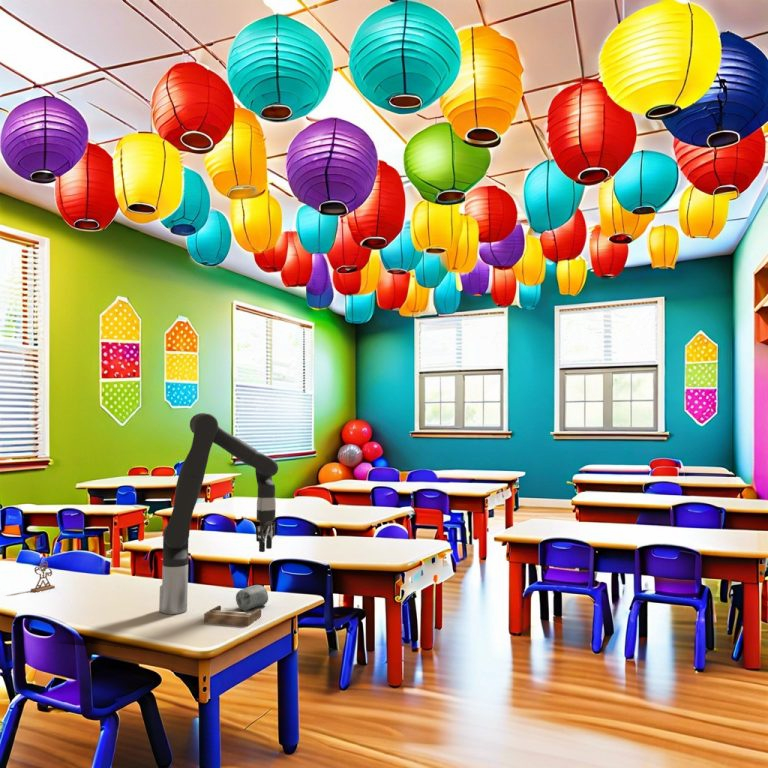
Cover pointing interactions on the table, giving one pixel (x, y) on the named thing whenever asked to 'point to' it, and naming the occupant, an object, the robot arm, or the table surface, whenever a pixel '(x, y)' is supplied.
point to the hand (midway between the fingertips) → (265, 550)
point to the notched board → (231, 617)
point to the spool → (251, 597)
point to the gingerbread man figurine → (42, 588)
